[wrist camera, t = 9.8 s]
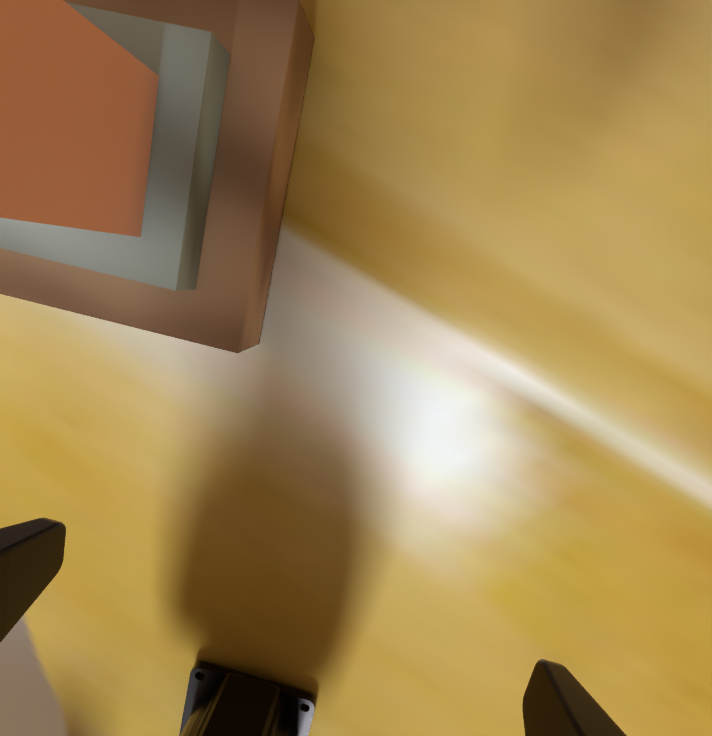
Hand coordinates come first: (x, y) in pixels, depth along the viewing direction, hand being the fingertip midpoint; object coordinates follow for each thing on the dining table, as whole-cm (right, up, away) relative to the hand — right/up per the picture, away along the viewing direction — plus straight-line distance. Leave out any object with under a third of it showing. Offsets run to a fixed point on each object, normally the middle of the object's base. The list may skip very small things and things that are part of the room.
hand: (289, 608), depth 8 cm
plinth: (-8, +13, +11) cm, 18 cm away
